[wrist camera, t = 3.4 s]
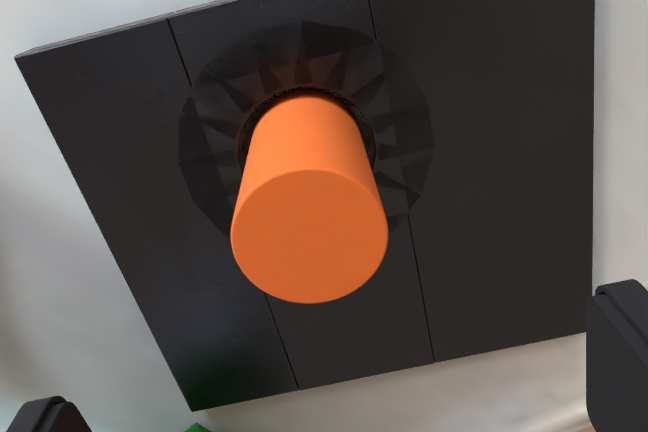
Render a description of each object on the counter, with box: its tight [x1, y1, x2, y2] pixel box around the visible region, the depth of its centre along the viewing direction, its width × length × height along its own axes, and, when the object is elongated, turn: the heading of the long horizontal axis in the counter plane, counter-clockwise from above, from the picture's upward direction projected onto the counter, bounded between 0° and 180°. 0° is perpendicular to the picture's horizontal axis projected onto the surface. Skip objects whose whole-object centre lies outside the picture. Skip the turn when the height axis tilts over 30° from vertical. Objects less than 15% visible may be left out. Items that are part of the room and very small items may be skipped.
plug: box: [231, 89, 388, 304], centre depth 18 cm, size 4×4×8 cm
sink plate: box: [14, 0, 595, 412], centre depth 22 cm, size 20×18×2 cm
